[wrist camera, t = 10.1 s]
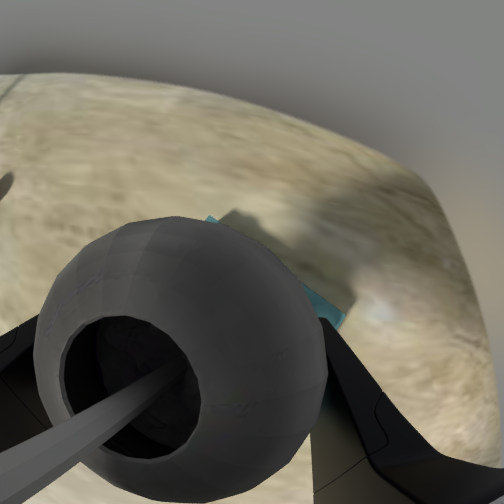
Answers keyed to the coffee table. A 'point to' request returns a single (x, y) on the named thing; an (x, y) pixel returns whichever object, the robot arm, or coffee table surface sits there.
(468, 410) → the coffee table surface
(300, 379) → the beverage cup
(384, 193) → the coffee table surface
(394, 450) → the robot arm
